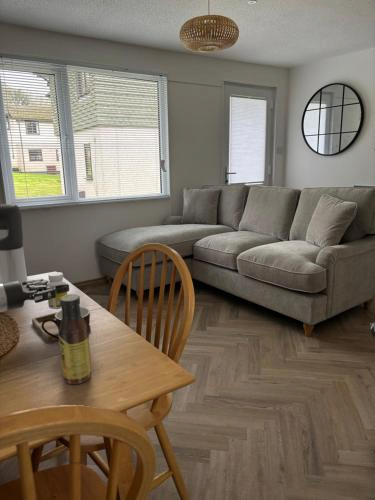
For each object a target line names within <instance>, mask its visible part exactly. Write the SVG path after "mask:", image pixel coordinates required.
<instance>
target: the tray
mask: <svg viewBox="0 0 375 500" xmlns="http://www.w3.org/2000/svg"><path fill="white" fill-rule="evenodd" d="M57 312H58V311H56V312H52V313H48V314H44V315H40V316H36V317H32V318H31V324H32V326H33V328H35V329H36V330H37V331H38V333H39V335H41V336H42V338H43V339H44V340H45V341H46V342H47V344H52V343H56V342H59V340H58V339H56V338H54V337H52V336H50V335H48V334H47V333H45V332H44V331H43V329H42V323H43V321H45V320H46V319H53V320H56V318H55V314H56V313H57ZM44 328H45V329H46V330H47V331H48V332H49V333H51V334H53V335H55V336H58V337H59V335H58V331H59V330H58V327H57V326H56V324H55V323H54V322H51V321H48V322H46V323H44ZM90 332H91V325H90V324H89V333H90Z"/></svg>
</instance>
